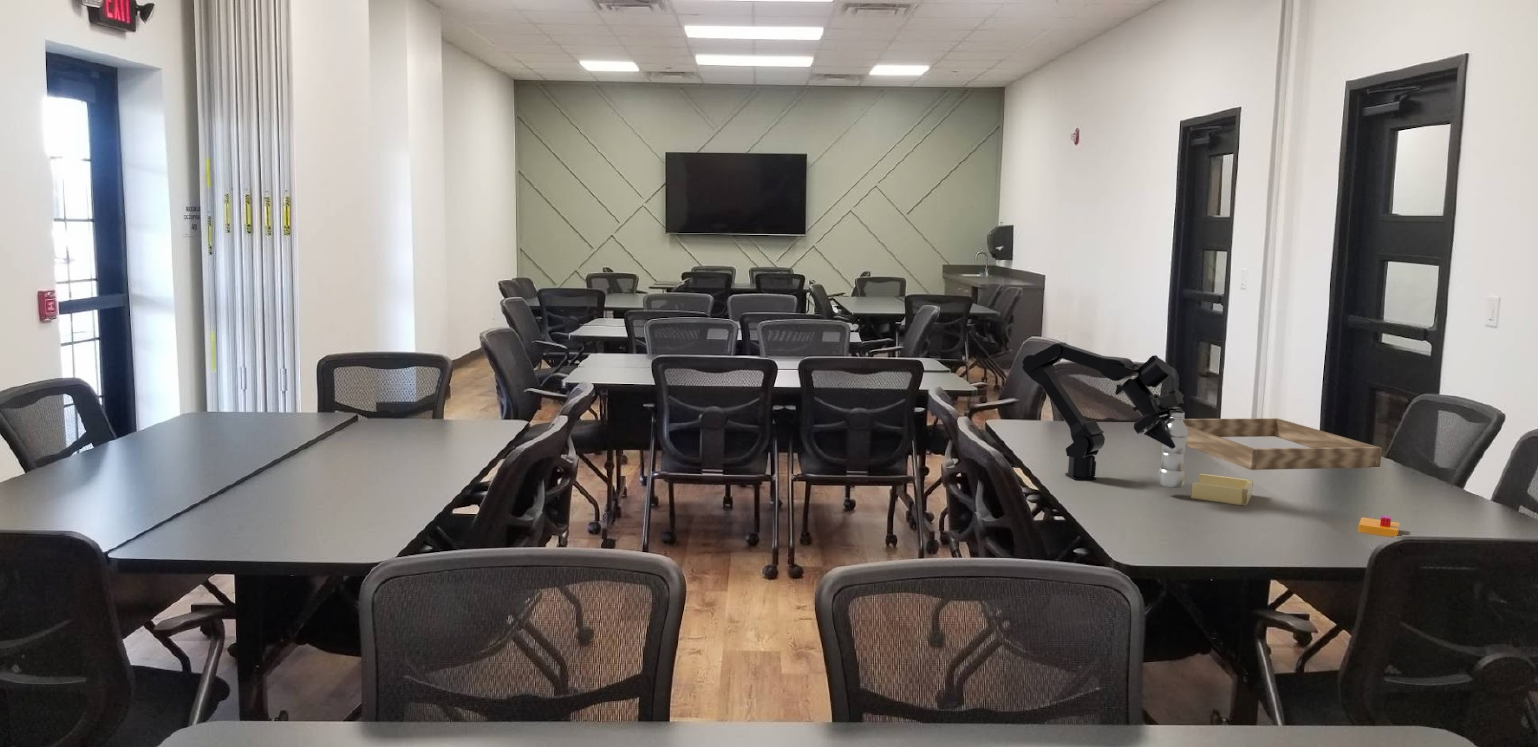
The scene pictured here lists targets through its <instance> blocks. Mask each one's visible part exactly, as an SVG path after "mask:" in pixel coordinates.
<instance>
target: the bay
mask: <svg viewBox="0 0 1538 747" xmlns="http://www.w3.org/2000/svg"><path fill="white" fill-rule="evenodd" d="M1191 484H1192V486H1191V498H1190V499H1195V500H1202V501H1208V502H1217V503H1222V504H1228V505H1229V504H1230V505H1237V506H1238V505H1239V506H1245V507H1247V505H1248V504H1249V502H1250V499H1251V498H1252V495H1253V485H1254V480H1253V479H1252V480H1251V479H1247V478H1246V479H1245V478H1238V477H1232V476H1231V477H1228V476H1223V475H1222V476H1221V475H1215V474H1206V473H1199V474H1198V482H1194V481H1193V482H1192V483H1191Z"/></svg>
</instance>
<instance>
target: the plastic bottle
mask: <svg viewBox="0 0 1538 747" xmlns="http://www.w3.org/2000/svg"><path fill="white" fill-rule="evenodd" d="M1185 414H1186V413H1185V411H1184V412H1182V411H1170V412H1169V417H1168V418H1170V419H1169V421H1168V422H1167V423H1166V424H1165V429H1166V430H1167V432H1168V434H1169V435H1170V437H1171V439H1172V440H1173V442H1174V444H1175V446H1176V447H1175V448H1173V449H1171V448H1169V447H1168V446H1166V445H1164V444H1162V447H1161V448H1162V455H1161V461H1160V467H1159V470H1158V473H1157V480H1158V483H1159V485H1160V486H1164V487H1167V488H1169V489H1173V488H1175V489H1176V488H1182V487H1183V485H1184V484H1185V480H1186V473H1185V452H1186V447H1187V446H1186V443H1187V438H1188V429H1187V427H1186V425H1185V424H1184V422H1183V420H1184V419H1185Z"/></svg>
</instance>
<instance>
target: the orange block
mask: <svg viewBox="0 0 1538 747" xmlns="http://www.w3.org/2000/svg"><path fill="white" fill-rule="evenodd" d="M1400 527H1401V523H1400V522H1396V521H1392V516H1385V515H1381V517H1380V519H1376V518H1369V517H1364V516H1363V517H1361V518H1360V521H1359V524H1358V531H1357V532H1358V533H1363V534H1369V535H1376V536H1382V537H1383V536H1384V537H1389V538H1393V537H1392V536H1397V535H1398V536H1399V533H1400Z"/></svg>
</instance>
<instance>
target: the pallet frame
mask: <svg viewBox="0 0 1538 747" xmlns="http://www.w3.org/2000/svg"><path fill="white" fill-rule="evenodd" d="M1183 422H1184V424H1185V425H1186V427H1187V429H1188V438H1187V443H1186V447H1188V448H1191V449H1194V450H1197V451H1198V452H1199V451H1200V452H1201V453H1204V454H1206V455H1210V456H1213V457H1216V458H1218V459H1221V460H1224V461H1227V462H1229V463H1231V464H1234V465H1236V466H1240V467H1243V468H1245V469H1248V470H1250V471H1253V470H1254V471H1255V470H1256V471H1257V470H1260V471H1261V470H1263V471H1264V470H1268V471H1269V470H1271V471H1272V470H1314V469H1315V470H1317V469H1320V470H1321V469H1369V468H1370V469H1372V468H1371V467H1380V468H1381V460H1382V452H1383V451H1382V450H1383V448H1382V447H1380V446H1377V445H1373V444H1369V443H1366V442H1362V441H1359V440H1357V439H1356V440H1355V439H1352V438H1348V437H1346V436H1341V435H1338V434H1334V433H1331V432H1327V431H1324V430H1320V429H1317V428H1313V427H1309V426H1306V425H1303V424H1298V423H1295V422H1292V421H1288V420H1285V419H1283V418H1282V419H1281V418H1274V417H1273V418H1268V417H1267V418H1265V417H1263V418H1258V417H1257V418H1252V417H1251V418H1250V417H1249V418H1184V420H1183ZM1238 437H1239V438H1241V437H1242V438H1243V437H1244V438H1246V437H1253V438H1254V437H1255V438H1257V437H1262V438H1265V437H1266V438H1267V437H1275V438H1279V439H1283V440H1284V441H1287V442H1292V443H1295V444H1298V445H1301V446H1305V447H1283V448H1281V447H1279V448H1277V447H1275V448H1274V447H1273V448H1271V447H1270V448H1264V447H1263V448H1261V447H1260V448H1254V447H1251V446H1248V445H1245V444H1242V443H1239V442H1236V441H1233V440H1230V439H1227V438H1238Z"/></svg>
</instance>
